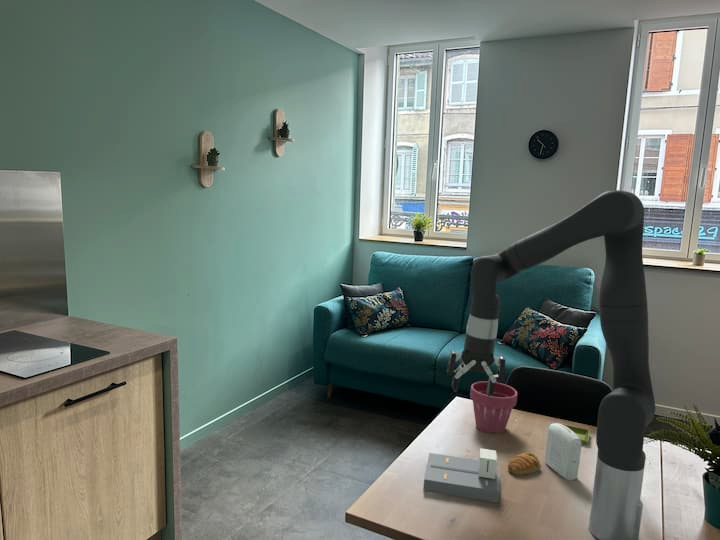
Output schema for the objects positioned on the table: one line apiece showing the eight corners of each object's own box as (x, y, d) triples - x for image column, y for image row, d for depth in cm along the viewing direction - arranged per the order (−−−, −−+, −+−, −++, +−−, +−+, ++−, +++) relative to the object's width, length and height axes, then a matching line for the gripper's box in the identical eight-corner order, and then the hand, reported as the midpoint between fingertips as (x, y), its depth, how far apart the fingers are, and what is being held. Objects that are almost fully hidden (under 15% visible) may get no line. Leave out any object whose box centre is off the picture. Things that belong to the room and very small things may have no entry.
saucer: (587, 447, 159) (588, 440, 159) (557, 440, 163) (557, 434, 163) (589, 436, 167) (589, 429, 167) (559, 429, 171) (560, 423, 170)
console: (496, 473, 141) (497, 462, 140) (498, 502, 127) (499, 490, 127) (428, 463, 145) (429, 452, 144) (423, 490, 131) (424, 478, 131)
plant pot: (521, 428, 170) (525, 389, 168) (500, 442, 159) (504, 401, 157) (481, 414, 179) (484, 377, 177) (459, 426, 169) (462, 387, 167)
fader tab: (494, 468, 136) (496, 450, 136) (495, 479, 131) (496, 460, 131) (478, 466, 137) (480, 448, 136) (478, 476, 132) (480, 457, 132)
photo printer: (580, 479, 140) (585, 435, 138) (566, 481, 139) (571, 436, 137) (555, 460, 150) (559, 418, 148) (542, 461, 148) (546, 419, 147)
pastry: (522, 480, 138) (523, 467, 138) (500, 470, 143) (501, 456, 143) (542, 470, 144) (543, 456, 144) (520, 460, 149) (521, 447, 149)
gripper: (455, 334, 131) (446, 395, 134) (513, 340, 131) (502, 402, 134) (451, 325, 138) (442, 384, 142) (505, 331, 138) (496, 389, 141)
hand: (472, 392), depth 138 cm, fingers open, 8 cm apart
